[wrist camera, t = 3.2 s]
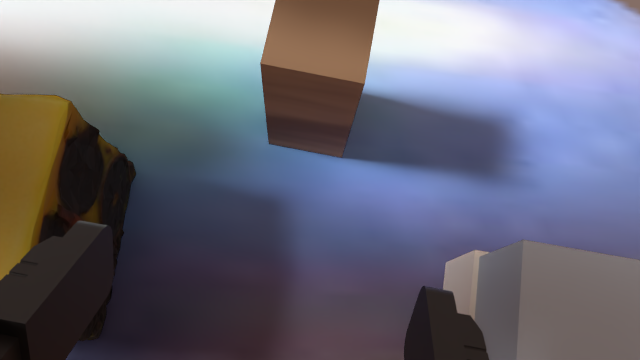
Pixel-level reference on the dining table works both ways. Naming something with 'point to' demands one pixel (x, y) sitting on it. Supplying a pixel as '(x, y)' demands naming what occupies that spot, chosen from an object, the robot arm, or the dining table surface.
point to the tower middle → (558, 304)
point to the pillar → (316, 71)
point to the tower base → (463, 281)
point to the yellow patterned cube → (56, 180)
